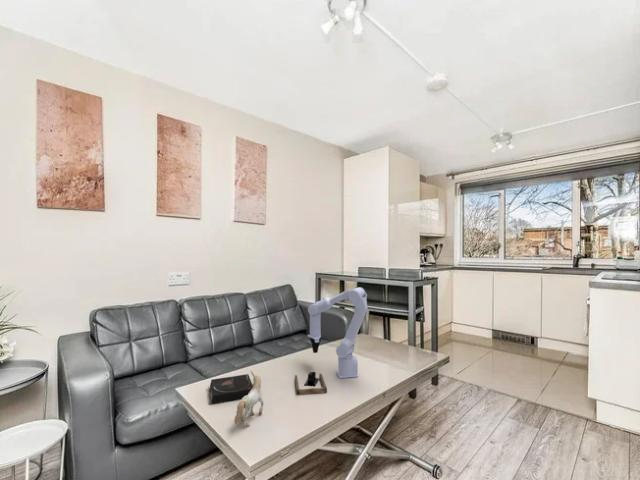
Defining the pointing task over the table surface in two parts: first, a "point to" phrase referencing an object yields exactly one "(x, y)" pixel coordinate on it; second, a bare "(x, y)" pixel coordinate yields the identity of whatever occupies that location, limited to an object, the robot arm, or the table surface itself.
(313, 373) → the black bevelled base
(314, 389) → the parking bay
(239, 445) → the table surface
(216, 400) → the portable cd player
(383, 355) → the table surface
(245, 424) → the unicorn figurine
